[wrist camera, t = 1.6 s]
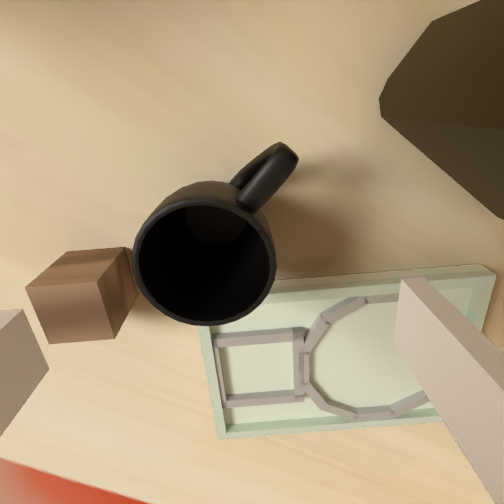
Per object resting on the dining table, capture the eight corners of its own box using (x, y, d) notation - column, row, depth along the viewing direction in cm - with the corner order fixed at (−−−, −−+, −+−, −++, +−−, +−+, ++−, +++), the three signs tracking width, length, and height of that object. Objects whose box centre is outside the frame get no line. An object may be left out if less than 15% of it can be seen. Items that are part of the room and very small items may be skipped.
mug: (317, 172, 26) (356, 208, 17) (225, 276, 29) (219, 348, 21) (236, 99, 23) (233, 98, 15) (147, 222, 27) (103, 278, 18)
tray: (195, 287, 30) (192, 300, 28) (479, 263, 30) (496, 275, 28) (219, 421, 37) (218, 439, 35) (445, 403, 37) (457, 420, 35)
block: (66, 251, 28) (24, 287, 23) (124, 246, 28) (96, 281, 23) (84, 300, 30) (49, 344, 25) (137, 296, 30) (114, 338, 25)
